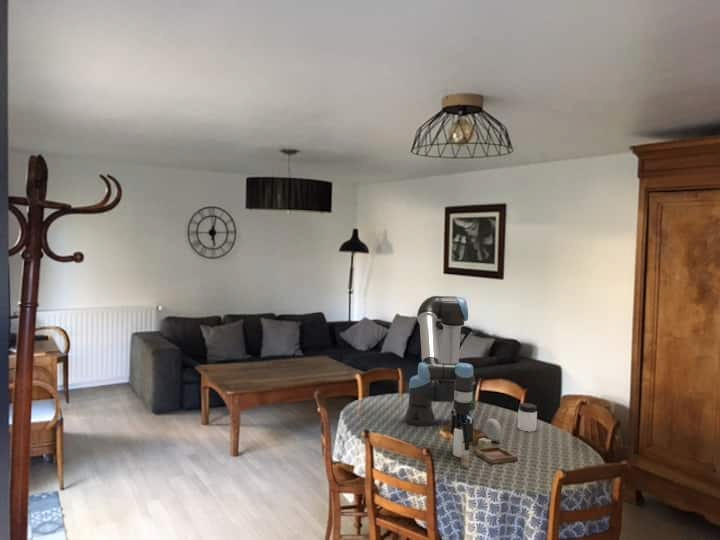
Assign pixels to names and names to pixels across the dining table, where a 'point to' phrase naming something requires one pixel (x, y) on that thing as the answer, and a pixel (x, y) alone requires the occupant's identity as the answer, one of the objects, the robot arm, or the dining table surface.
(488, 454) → the walnut tray
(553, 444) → the dining table surface
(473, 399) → the coffee jar
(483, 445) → the beech block
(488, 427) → the white round disc
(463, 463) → the cork
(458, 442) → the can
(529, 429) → the jar
